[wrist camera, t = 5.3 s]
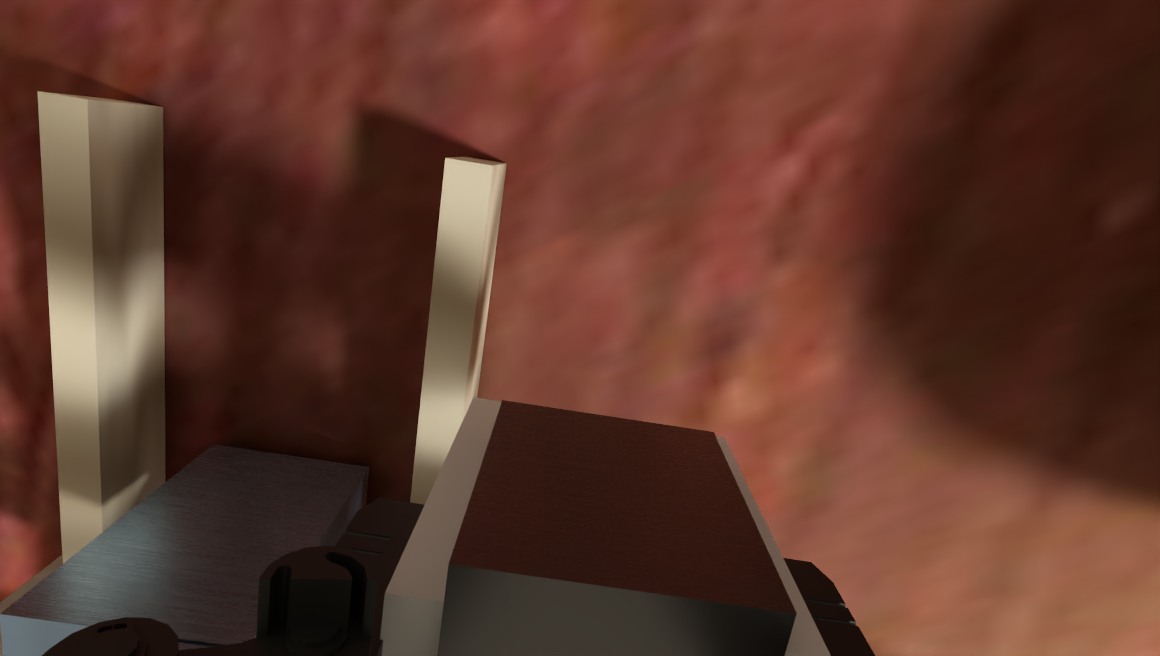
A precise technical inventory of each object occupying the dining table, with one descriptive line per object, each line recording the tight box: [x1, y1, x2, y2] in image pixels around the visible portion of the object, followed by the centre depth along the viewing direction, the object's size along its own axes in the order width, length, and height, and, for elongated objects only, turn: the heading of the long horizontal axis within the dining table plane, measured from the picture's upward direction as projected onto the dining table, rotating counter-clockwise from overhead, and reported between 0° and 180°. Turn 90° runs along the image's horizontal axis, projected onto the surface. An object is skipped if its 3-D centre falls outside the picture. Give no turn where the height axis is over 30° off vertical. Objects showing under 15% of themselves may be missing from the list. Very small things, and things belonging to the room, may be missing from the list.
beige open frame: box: [0, 91, 507, 656], centre depth 17 cm, size 20×13×10 cm, turn 171°
